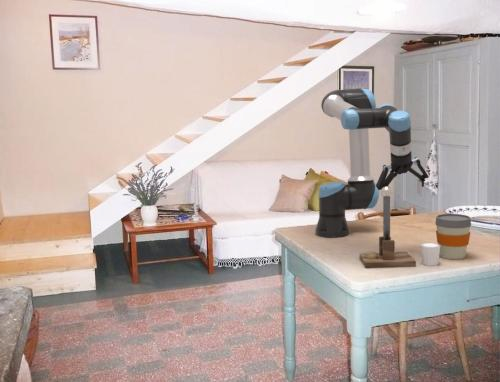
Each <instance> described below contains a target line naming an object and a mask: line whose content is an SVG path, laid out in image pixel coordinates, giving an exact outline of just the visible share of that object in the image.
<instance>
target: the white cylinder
mask: <svg viewBox="0 0 500 382" xmlns="http://www.w3.org/2000/svg"><path fill="white" fill-rule="evenodd" d="M420 254H421V264H422V265H423V266H428V267H434V266H438V265H439V262H440V261H439V260H440V245H439V244H438V243H435V242H423V243H421V244H420Z"/></svg>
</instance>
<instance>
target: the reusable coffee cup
mask: <svg viewBox="0 0 500 382" xmlns="http://www.w3.org/2000/svg"><path fill="white" fill-rule="evenodd" d="M471 218H472V217H471V216H470V215H466V214H461V213H443V214H438V215H436V218H435V225H436V231H435V235H436V242H437V243H436V244H439V245H440V253H439V257H441V258H443V259H447V260H462V259H465V258H466V253H467V248H468V245H469V243H470V238H471V237H470V236H471V232H470V230H471V226H472V219H471Z"/></svg>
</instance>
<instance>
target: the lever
mask: <svg viewBox="0 0 500 382" xmlns="http://www.w3.org/2000/svg"><path fill="white" fill-rule="evenodd" d="M380 193H381V195H382V198H383V199H382V200H383V202H382V203H383V204H382V205H383V206H382V209H383V211H382V214H383V216H382V217H383V220H382V223H383V225H382V229H383V230H382V231H383V232H382V233H383V240H390V237H391V196H392V195H393V189H392V188H391V187H390V186H389V185H388V186H386V187H383V188H382V190H380ZM381 246H382V245H381Z"/></svg>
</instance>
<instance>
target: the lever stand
mask: <svg viewBox="0 0 500 382" xmlns="http://www.w3.org/2000/svg"><path fill="white" fill-rule="evenodd" d="M395 243H396V242H395V240H394V239H392V237H391V236H390V240H383V236H378V252H376V251H367V252H366V253H362V252H361V253H359V256H358V257H359V261H360V262H361V263H362V265H363V267H364V268H365V269H382V268H384V269H385V268H386V269H387V268H409V267H410V268H411V267H412V268H413V267H417V261H416V260H415V259H414V258H413V256H412V255H411V254H409V252H408V251H398V252H397V251H396V252H395V250H396V249H395V247H396V246H395ZM381 245H382V246H381Z"/></svg>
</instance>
